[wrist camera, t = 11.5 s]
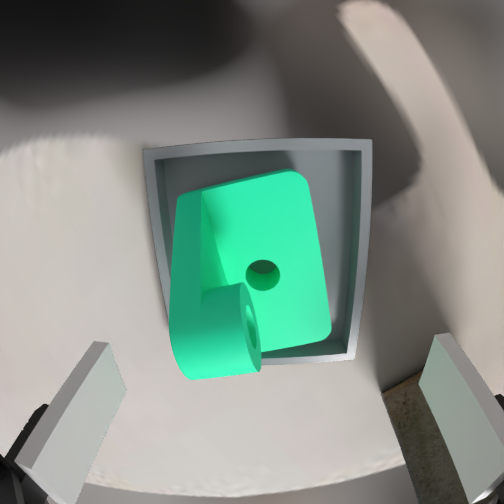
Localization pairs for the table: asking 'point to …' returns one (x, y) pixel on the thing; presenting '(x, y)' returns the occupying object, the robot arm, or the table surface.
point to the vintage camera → (424, 446)
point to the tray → (324, 207)
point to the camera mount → (245, 274)
